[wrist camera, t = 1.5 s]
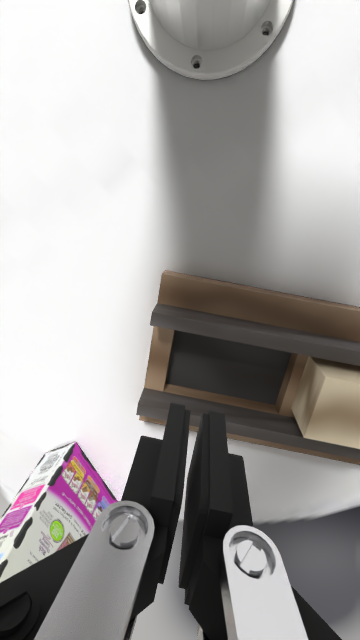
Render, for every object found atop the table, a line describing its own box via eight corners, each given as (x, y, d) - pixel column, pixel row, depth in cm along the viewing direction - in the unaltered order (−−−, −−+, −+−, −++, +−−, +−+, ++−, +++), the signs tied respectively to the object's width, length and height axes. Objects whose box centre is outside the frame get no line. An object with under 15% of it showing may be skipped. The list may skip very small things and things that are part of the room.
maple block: (308, 354, 30) (325, 377, 26) (372, 367, 30) (399, 392, 25) (290, 408, 32) (303, 437, 27) (350, 420, 32) (372, 451, 27)
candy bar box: (43, 452, 39) (-68, 609, 23) (76, 439, 38) (-17, 593, 22) (90, 516, 41) (19, 696, 26) (122, 506, 40) (68, 686, 25)
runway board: (164, 270, 31) (156, 280, 26) (561, 345, 30) (629, 369, 25) (142, 409, 36) (132, 438, 31) (480, 477, 35) (523, 518, 30)
